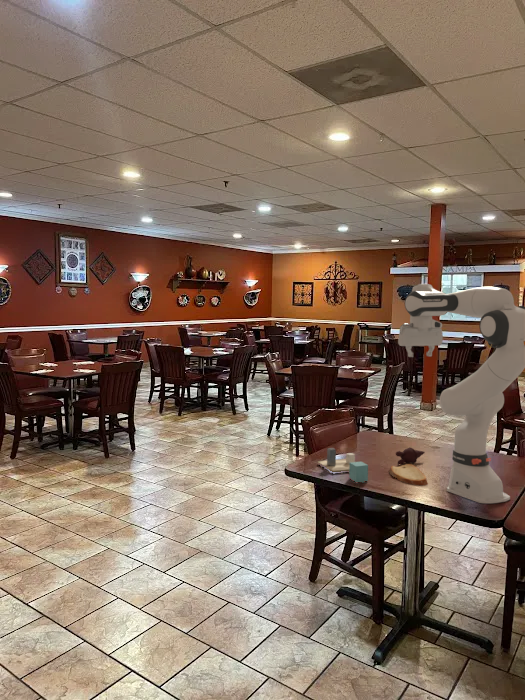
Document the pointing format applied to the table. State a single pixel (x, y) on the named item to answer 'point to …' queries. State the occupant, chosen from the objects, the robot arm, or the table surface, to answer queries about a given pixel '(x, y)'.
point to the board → (339, 467)
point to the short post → (350, 458)
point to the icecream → (409, 455)
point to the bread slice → (408, 474)
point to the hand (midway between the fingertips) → (419, 356)
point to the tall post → (331, 457)
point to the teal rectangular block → (358, 471)
